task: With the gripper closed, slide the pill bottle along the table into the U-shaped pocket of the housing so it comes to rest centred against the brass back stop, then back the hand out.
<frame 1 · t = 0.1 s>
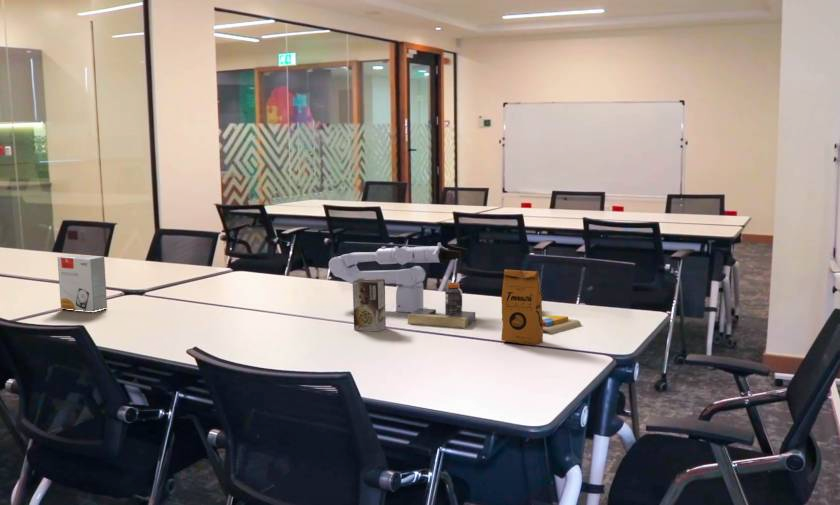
hand: (464, 253, 279), 22 cm above the table, tool horizontal, fingers open, 7 cm apart
coffee package: (522, 342, 242), on the table
pill bottle: (453, 315, 281), on the table
bearing housing: (443, 321, 271), on the table
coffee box: (369, 329, 261), on the table
wooden puzzle: (543, 327, 264), on the table
hard drive box: (84, 310, 295), on the table
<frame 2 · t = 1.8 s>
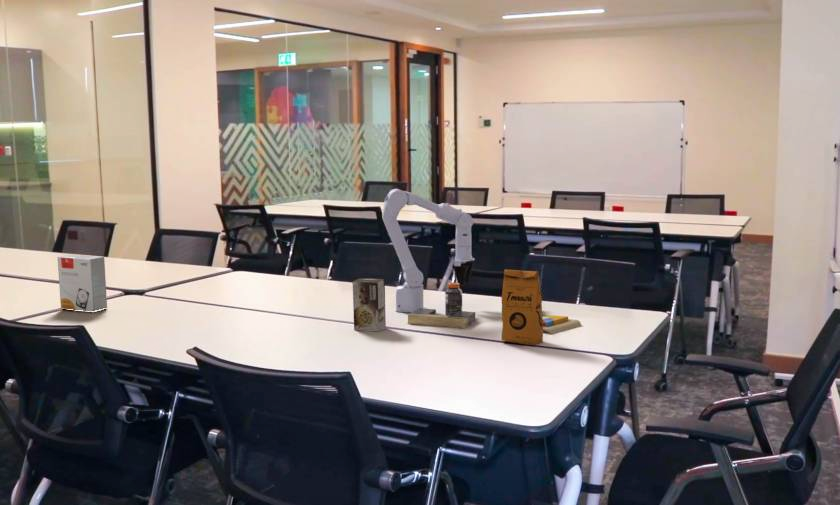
hand: (463, 283, 290), 9 cm above the table, tool pointing down, fingers open, 5 cm apart
nothing on the table moved.
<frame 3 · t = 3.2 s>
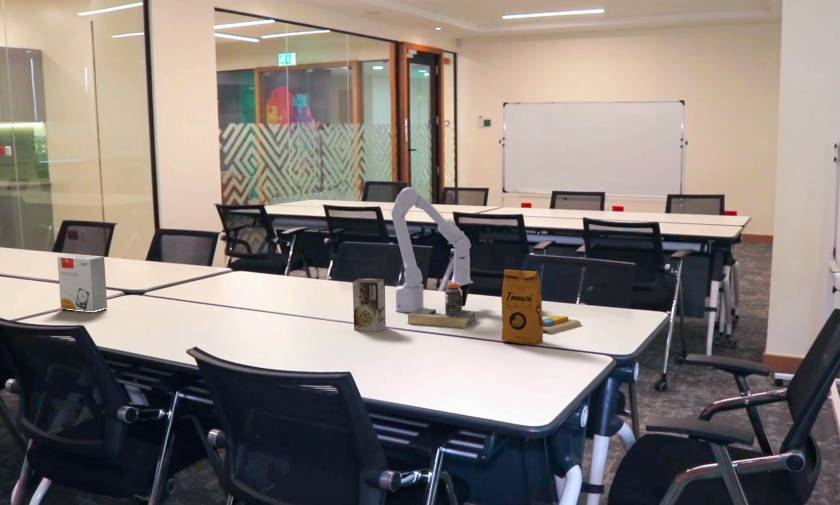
hand: (461, 305, 290), 1 cm above the table, tool pointing down, fingers closed
nothing on the table moved.
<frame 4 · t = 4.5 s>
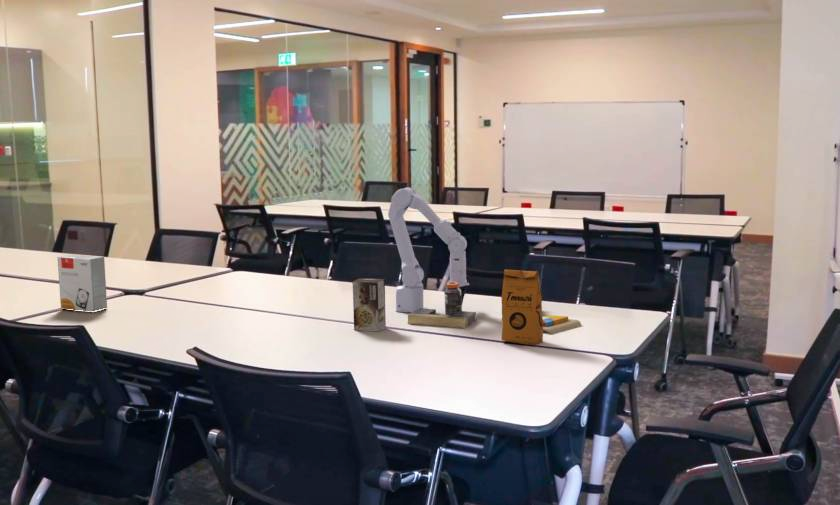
hand: (458, 308, 285), 1 cm above the table, tool pointing down, fingers closed
pill bottle: (453, 314, 281), on the table, touching gripper
everything else where it was.
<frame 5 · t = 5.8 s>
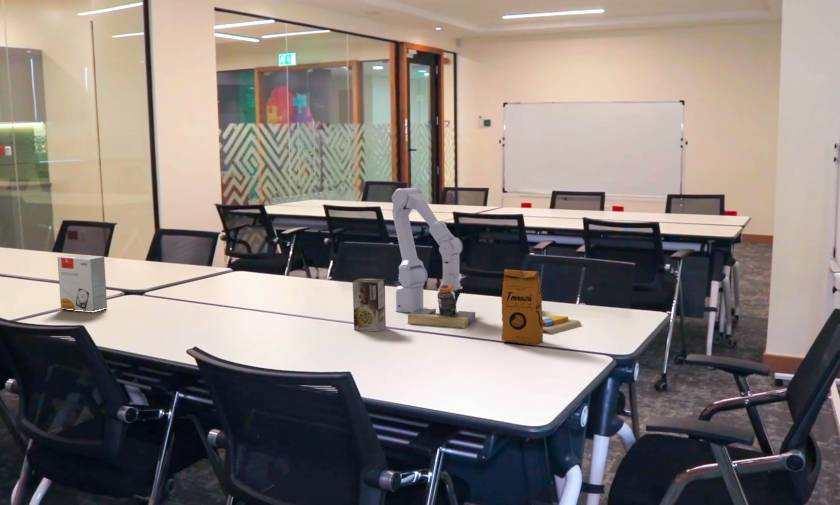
hand: (451, 312, 279), 1 cm above the table, tool pointing down, fingers closed
pill bottle: (448, 316, 276), point 1 cm above the table, touching gripper
everything else where it was.
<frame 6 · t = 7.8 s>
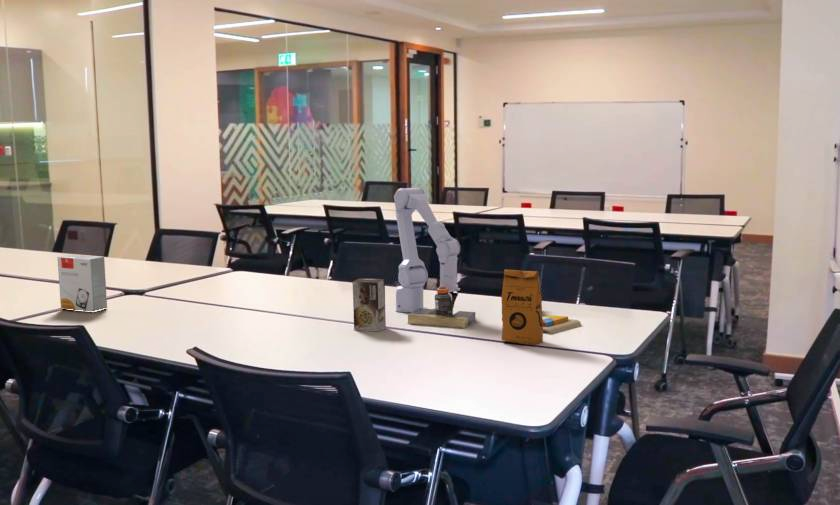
hand: (448, 314, 276), 1 cm above the table, tool pointing down, fingers closed
pill bottle: (444, 320, 272), on the table, touching gripper
everything else where it was.
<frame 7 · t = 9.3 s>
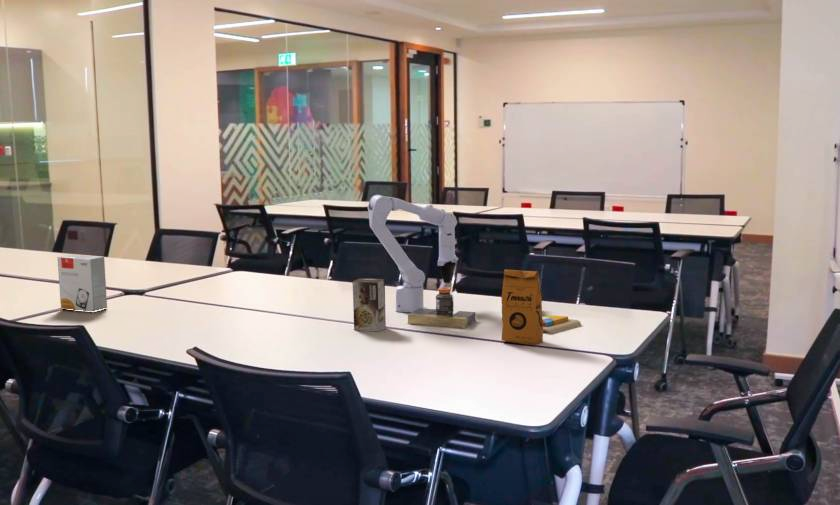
hand: (447, 282, 292), 9 cm above the table, tool pointing down, fingers closed
pill bottle: (444, 321, 272), on the table
everything else where it was.
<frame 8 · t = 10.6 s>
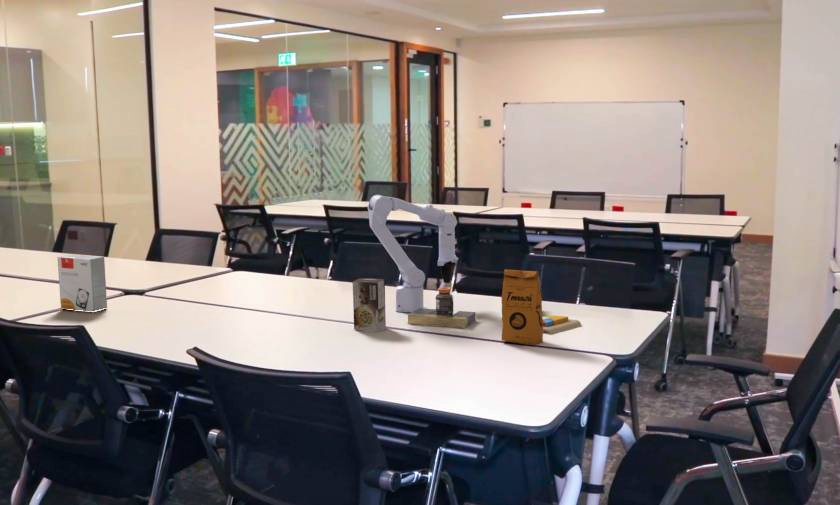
hand: (447, 282, 292), 9 cm above the table, tool pointing down, fingers closed
nothing on the table moved.
at the end: pill bottle 0.8 cm off-centre on the bearing housing, point 0.0 cm above the bearing housing's base; pill bottle tilted 0°; the gripper is holding nothing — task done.
